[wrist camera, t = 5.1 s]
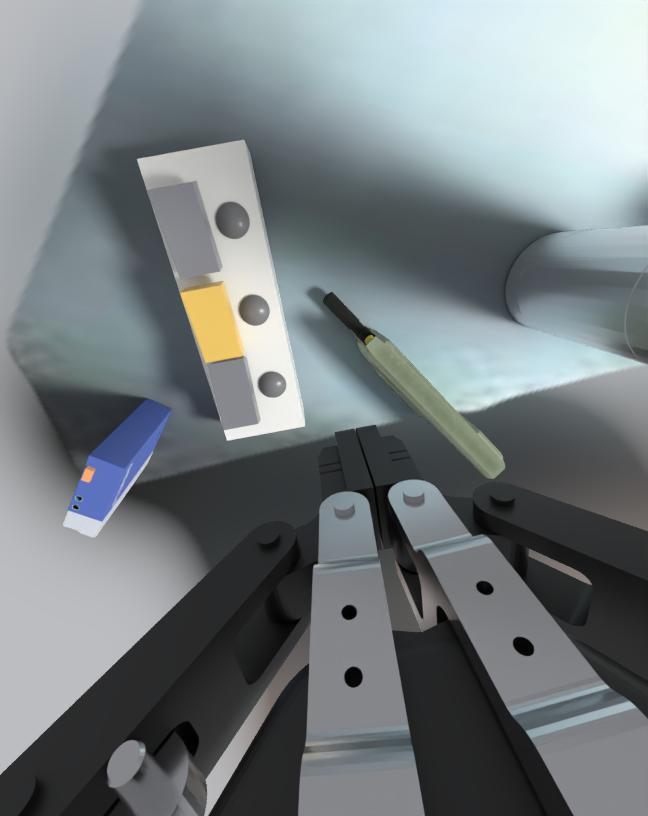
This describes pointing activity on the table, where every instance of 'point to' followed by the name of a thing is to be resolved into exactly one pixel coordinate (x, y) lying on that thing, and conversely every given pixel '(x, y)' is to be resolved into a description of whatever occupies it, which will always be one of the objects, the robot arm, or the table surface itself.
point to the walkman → (115, 468)
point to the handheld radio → (420, 393)
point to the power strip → (239, 273)
